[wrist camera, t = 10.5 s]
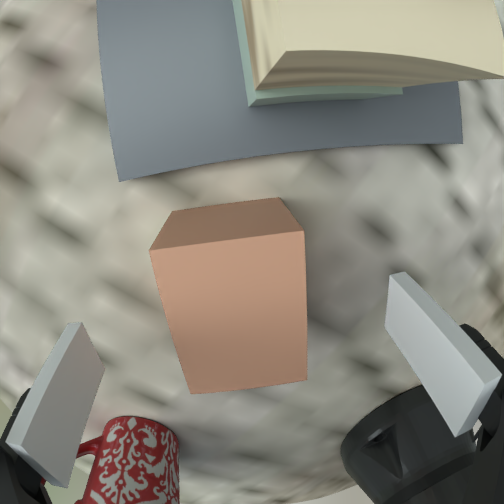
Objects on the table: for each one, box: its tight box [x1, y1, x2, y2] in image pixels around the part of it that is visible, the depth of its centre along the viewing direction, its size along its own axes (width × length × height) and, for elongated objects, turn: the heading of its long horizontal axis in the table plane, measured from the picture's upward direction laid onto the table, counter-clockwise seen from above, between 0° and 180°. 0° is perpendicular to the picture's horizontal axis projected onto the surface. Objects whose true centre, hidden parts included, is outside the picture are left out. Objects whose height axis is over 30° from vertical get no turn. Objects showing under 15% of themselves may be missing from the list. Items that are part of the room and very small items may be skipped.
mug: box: [41, 416, 180, 504], centre depth 18 cm, size 13×9×14 cm
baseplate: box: [97, 0, 463, 182], centre depth 11 cm, size 13×20×6 cm, turn 98°
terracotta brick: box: [149, 197, 307, 394], centre depth 16 cm, size 8×6×6 cm
